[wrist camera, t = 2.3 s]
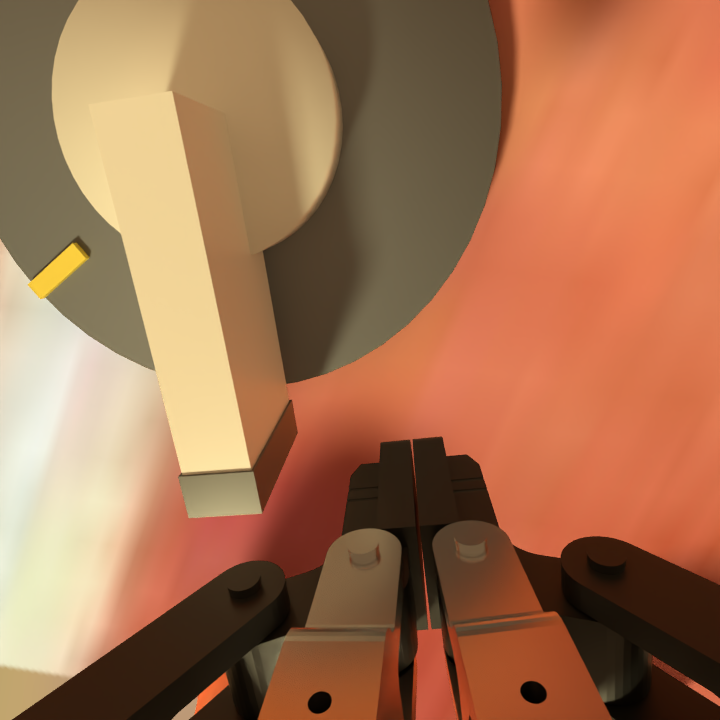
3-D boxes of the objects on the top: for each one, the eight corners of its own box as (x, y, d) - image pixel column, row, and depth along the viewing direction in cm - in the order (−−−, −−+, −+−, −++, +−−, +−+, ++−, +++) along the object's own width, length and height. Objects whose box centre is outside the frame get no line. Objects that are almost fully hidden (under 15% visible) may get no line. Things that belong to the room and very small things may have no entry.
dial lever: (59, 1, 19) (-112, -93, 13) (322, -48, 18) (278, -178, 12) (170, 437, 25) (88, 524, 18) (379, 420, 24) (370, 506, 17)
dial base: (479, -268, 18) (487, -317, 16) (506, 354, 24) (513, 367, 22) (-102, -136, 20) (-149, -167, 18) (64, 395, 27) (41, 409, 25)
